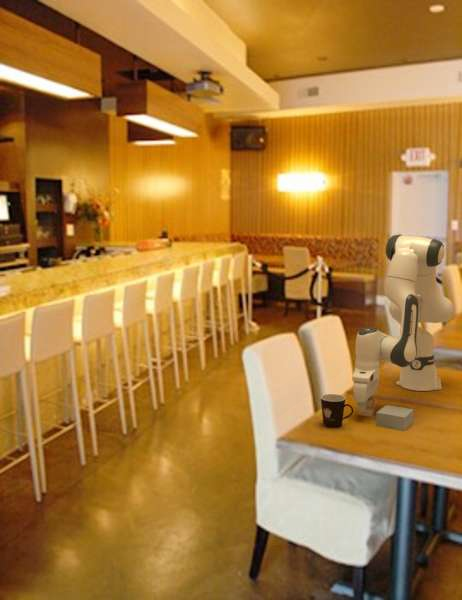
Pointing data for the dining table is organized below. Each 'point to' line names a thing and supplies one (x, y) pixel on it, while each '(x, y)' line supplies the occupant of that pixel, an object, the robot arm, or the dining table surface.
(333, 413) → the coffee mug
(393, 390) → the dining table surface
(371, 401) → the oak cube
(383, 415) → the block
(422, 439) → the dining table surface
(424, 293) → the robot arm
